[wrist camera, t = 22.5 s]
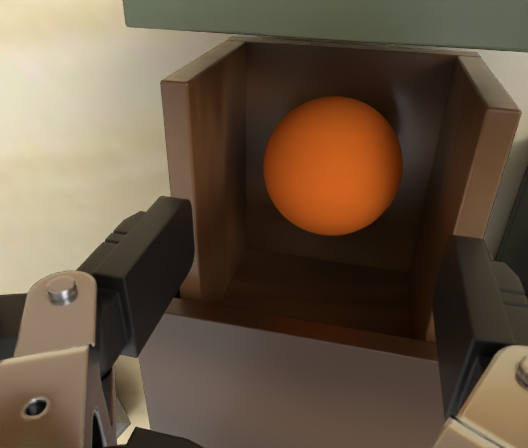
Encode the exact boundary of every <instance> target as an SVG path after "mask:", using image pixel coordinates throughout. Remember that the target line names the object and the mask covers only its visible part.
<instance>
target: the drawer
mask: <svg viewBox="0 0 528 448" xmlns="http://www.w3.org/2000/svg"><path fill="white" fill-rule="evenodd" d="M123 7H124V15H125V23H126V26H128V27H133V28H149V29H165V30H181V31H196V32H212V33H228V34H244V35H260V36H276V37H292V38H308V39H324V40H340V41H356V42H372V43H388V44H404V45H420V46H436V47H452V48H468V49H484V50H500V51H516V52H528V0H123ZM160 84H161V94H162V105H163V116H164V126H165V137H166V148H167V159H168V169H169V180H170V191H171V197H174V198H182V199H188V200H190V202H191V205H192V214H193V229H194V243H195V255H194V261H193V265H192V267H191V270H190V272H189V273H188V275H187V277H186V278H185V280H184V282H183V283H182V285H181V287H180V298H181V299H184V300H190V301H196V302H201V303H207V304H213V305H219V306H225V307H230V308H236V309H242V310H248V311H254V312H259V313H265V314H271V315H277V316H283V317H289V318H294V319H300V320H306V321H312V322H318V323H323V324H329V325H335V326H341V327H347V328H352V329H358V330H364V331H370V332H376V333H381V334H387V335H393V336H399V337H405V338H410V339H416V340H422V341H428V342H434V343H436V338H435V329H434V320H433V311H432V301H433V292H434V286H435V282H436V279H437V275H438V271H439V267H440V264H441V260H442V256H443V252H444V248H445V245H446V241H447V239H448V237H449V235H459V236H466V237H474V238H482V239H483V236H484V233H485V229H486V226H487V223H488V220H489V216H490V213H491V210H492V207H493V204H494V200H495V197H496V194H497V191H498V188H499V184H500V181H501V178H502V175H503V172H504V168H505V165H506V162H507V159H508V156H509V152H510V149H511V146H512V143H513V139H514V136H515V133H516V130H517V127H518V123H519V120H520V117H521V114H522V113H521V110H520V109H519V107H518V106H517V105H516V103H515V102H514V101H513V99H512V98H511V97H510V95H509V94H508V93H507V91H506V90H505V89H504V87H503V86H502V85H501V84H500V82H499V81H498V80H497V78H496V77H495V76H494V74H493V73H492V72H491V70H490V69H489V68H488V66H487V65H486V64H485V62H484V61H483V60H482V59H481V57H480V55H479V54H478V53H477V52H463V51H447V50H432V49H416V48H400V47H385V46H369V45H353V44H338V43H322V42H306V41H291V40H275V39H259V38H244V37H231V38H229V39H228V40H226V41H225V42H223V43H221V44H220V45H218V46H217V47H215V48H213V49H212V50H210V51H209V52H207V53H205V54H204V55H202V56H200V57H199V58H197V59H196V60H194V61H192V62H191V63H189V64H187V65H186V66H184V67H183V68H181V69H179V70H178V71H176V72H174V73H173V74H171V75H170V76H168V77H166V78H165V79H163V80H161V83H160ZM328 96H341V97H348V98H352V99H355V100H359V101H361V102H363V103H365V104H367V105H369V106H371V107H372V108H374V109H375V110H376V111H378V112H379V113H380V114H381V115H382V116H383V117H384V118H385V119H386V120H387V121H388V123H389V124H390V125H391V127H392V128H393V130H394V132H395V134H396V136H397V138H398V140H399V143H400V147H401V151H402V157H403V171H402V179H401V183H400V186H399V189H398V191H397V194H396V196H395V198H394V200H393V201H392V203H391V205H390V206H389V207H388V208H387V210H386V211H385V212H384V213H383V214H382V215H381V216H380V217H379V218H378V219H377V220H375V221H374V222H373V223H371V224H370V225H368V226H366V227H364V228H362V229H360V230H358V231H355V232H352V233H348V234H344V235H321V234H316V233H312V232H309V231H306V230H304V229H302V228H300V227H298V226H296V225H294V224H293V223H292V222H290V221H289V220H288V219H286V218H285V217H284V216H283V215H282V214H281V213H280V211H279V210H278V209H277V208H276V206H275V205H274V203H273V201H272V200H271V198H270V196H269V194H268V191H267V188H266V184H265V180H264V173H263V163H264V154H265V150H266V146H267V143H268V141H269V138H270V136H271V134H272V132H273V131H274V129H275V127H276V126H277V125H278V123H279V122H280V121H281V120H282V119H283V118H284V117H285V116H286V115H287V114H288V113H289V112H290V111H292V110H293V109H294V108H296V107H298V106H299V105H301V104H303V103H305V102H308V101H310V100H313V99H317V98H321V97H328Z"/></svg>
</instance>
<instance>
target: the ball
mask: <svg viewBox="0 0 528 448" xmlns="http://www.w3.org/2000/svg"><path fill="white" fill-rule="evenodd" d="M402 171H403V157H402V151H401V147H400V143H399V140H398V138H397V136H396V134H395V132H394V130H393V128H392V127H391V125H390V124H389V123H388V121H387V120H386V119H385V118H384V117H383V116H382V115H381V114H380V113H379V112H378V111H376V110H375V109H374V108H372V107H371V106H369V105H367V104H365V103H363V102H361V101H359V100H355V99H352V98H348V97H341V96H328V97H321V98H317V99H313V100H310V101H308V102H305V103H303V104H301V105H299V106H298V107H296V108H294V109H293V110H292V111H290V112H289V113H288V114H287V115H286V116H285V117H284V118H283V119H282V120H281V121H280V122H279V123H278V125H277V126H276V127H275V129H274V131H273V132H272V134H271V136H270V138H269V141H268V143H267V146H266V150H265V154H264V163H263V173H264V180H265V184H266V188H267V191H268V194H269V196H270V198H271V200H272V201H273V203H274V205H275V206H276V208H277V209H278V210H279V211H280V213H281V214H282V215H283V216H284V217H285V218H286V219H288V220H289V221H290V222H292V223H293V224H294V225H296V226H298V227H300V228H302V229H304V230H306V231H309V232H312V233H316V234H321V235H344V234H348V233H352V232H355V231H358V230H360V229H362V228H364V227H366V226H368V225H370V224H371V223H373V222H374V221H375V220H377V219H378V218H379V217H380V216H381V215H382V214H383V213H384V212H385V211H386V210H387V208H388V207H389V206H390V205H391V203H392V201H393V200H394V198H395V196H396V194H397V191H398V189H399V186H400V183H401V179H402Z"/></svg>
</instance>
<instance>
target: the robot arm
mask: <svg viewBox="0 0 528 448" xmlns="http://www.w3.org/2000/svg"><path fill="white" fill-rule="evenodd" d="M194 255H195V243H194V229H193V214H192V205H191V202H190V200H188V199H182V198H174V197H166V196H161V197H159V198H158V199H157V201H156V202H155V203H154V204H153V205H152V206H151V207H150V208H149V210H148V211H147V212H142V211H140V212H138V213H136V214H134V215H132V216H130V217H129V218H127V219H125V220H124V221H123V222H122V223H121V224H120V225H119V226H118V227H117V228H116V229H115V230H114V233H111V234H110V235H109V236H108V237H107V238H106V239H105V242H103V243H102V244H101V245H100V246H99V247H98V248H97V249H96V250H95V251H94V252H93V253H92V254H91V255H90V256H89V257H88V258H87V259H86V261H85V262H84V263H83V264H82V265H81V266H80V267H79V268H78V269H77V270H76V271H63V272H58V273H55V274H52V275H49V276H47V277H45V278H43V279H41V280H40V281H38V282H37V283H35V284H34V285H33V286H32V287H31V289H30V290H29V292H28V293H25V294H8V295H0V448H204V447H202V446H200V445H198V444H196V443H195V442H193V441H191V440H189V439H187V438H182V437H178V436H173V435H169V434H165V433H160V432H156V431H152V430H147V429H143V428H138V427H135V429H134V431H133V432H132V434H131V436H130V438H129V440H128V442H127V444H124V445H117V438H116V389H115V369H114V363H115V361H116V360H117V358H118V357H119V355H125V356H130V357H135V358H137V357H138V356H139V354H140V353H141V351H142V349H143V348H144V346H145V344H146V343H147V341H148V339H149V338H150V336H151V334H152V333H153V331H154V329H155V328H156V326H157V324H158V323H159V321H160V320H161V318H162V316H163V315H164V313H165V311H166V310H167V308H168V306H169V305H170V303H171V301H172V300H173V298H174V296H175V295H176V293H177V291H178V290H179V288H180V287H181V285H182V283H183V282H184V280H185V278H186V277H187V275H188V273H189V272H190V270H191V267H192V265H193V261H194ZM524 294H525V292H524V289H523V287H522V284H521V281H520V279H519V277H518V276H517V275H516V274H515V273H514V272H513V271H512V270H511V269H510V268H509V267H508V266H507V265H506V264H505V263H504V262H498V261H490V258H489V255H488V251H487V248H486V245H485V242H484V240H483V239H482V238H474V237H466V236H459V235H449V237H448V239H447V241H446V245H445V248H444V252H443V256H442V260H441V264H440V267H439V271H438V275H437V279H436V282H435V286H434V292H433V301H432V311H433V320H434V329H435V338H436V347H437V356H438V365H439V374H440V383H441V392H442V401H443V410H444V418H445V421H446V422H445V424H444V425H443V427H442V428H441V430H440V431H439V433H438V434H437V436H436V437H435V439H434V441H433V442H432V444H431V445H430V447H429V448H528V300H527V297H526V296H525V295H524Z"/></svg>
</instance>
